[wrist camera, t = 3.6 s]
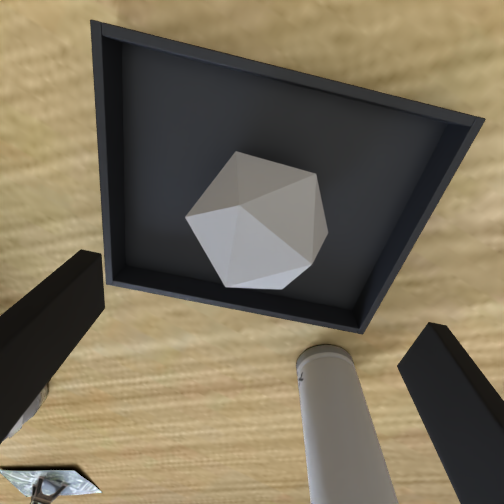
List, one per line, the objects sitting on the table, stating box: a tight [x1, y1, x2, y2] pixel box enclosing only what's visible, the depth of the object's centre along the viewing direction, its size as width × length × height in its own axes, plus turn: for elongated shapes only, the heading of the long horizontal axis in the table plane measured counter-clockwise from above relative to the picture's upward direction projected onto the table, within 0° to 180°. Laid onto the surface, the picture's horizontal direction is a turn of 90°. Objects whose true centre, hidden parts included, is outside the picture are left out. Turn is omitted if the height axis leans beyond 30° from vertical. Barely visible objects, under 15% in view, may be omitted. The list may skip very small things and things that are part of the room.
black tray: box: [90, 20, 486, 334], centre depth 22 cm, size 23×18×3 cm
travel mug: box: [296, 345, 399, 504], centre depth 23 cm, size 6×7×20 cm
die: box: [185, 151, 328, 289], centre depth 19 cm, size 8×9×10 cm
